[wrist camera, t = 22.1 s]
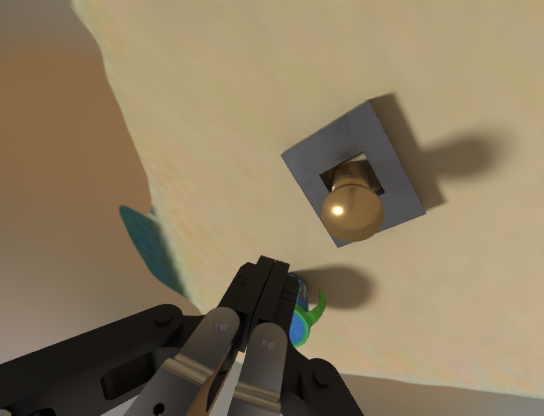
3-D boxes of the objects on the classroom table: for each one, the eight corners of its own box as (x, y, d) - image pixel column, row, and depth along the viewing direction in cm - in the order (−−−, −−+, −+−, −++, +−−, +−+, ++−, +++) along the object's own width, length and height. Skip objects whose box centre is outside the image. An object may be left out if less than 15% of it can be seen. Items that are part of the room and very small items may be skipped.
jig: (284, 151, 42) (280, 155, 39) (367, 99, 36) (369, 100, 33) (338, 239, 46) (337, 248, 43) (421, 205, 40) (426, 213, 37)
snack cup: (320, 260, 48) (314, 299, 40) (334, 304, 52) (332, 349, 43) (247, 270, 54) (228, 306, 45) (264, 309, 57) (249, 349, 48)
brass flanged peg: (321, 170, 42) (310, 203, 29) (360, 148, 39) (366, 176, 26) (341, 203, 43) (338, 249, 30) (380, 185, 40) (395, 228, 28)
